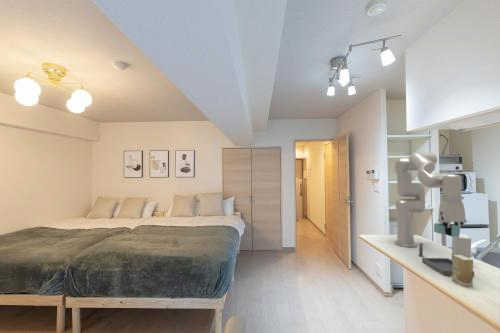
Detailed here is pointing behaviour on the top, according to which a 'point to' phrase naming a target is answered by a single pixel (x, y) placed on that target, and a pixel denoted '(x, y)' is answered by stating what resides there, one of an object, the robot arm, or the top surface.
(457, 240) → the skincare box
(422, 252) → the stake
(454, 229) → the teal magnifying glass
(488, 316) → the top surface
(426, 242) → the top surface
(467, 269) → the skincare box
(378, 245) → the top surface
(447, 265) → the tray
